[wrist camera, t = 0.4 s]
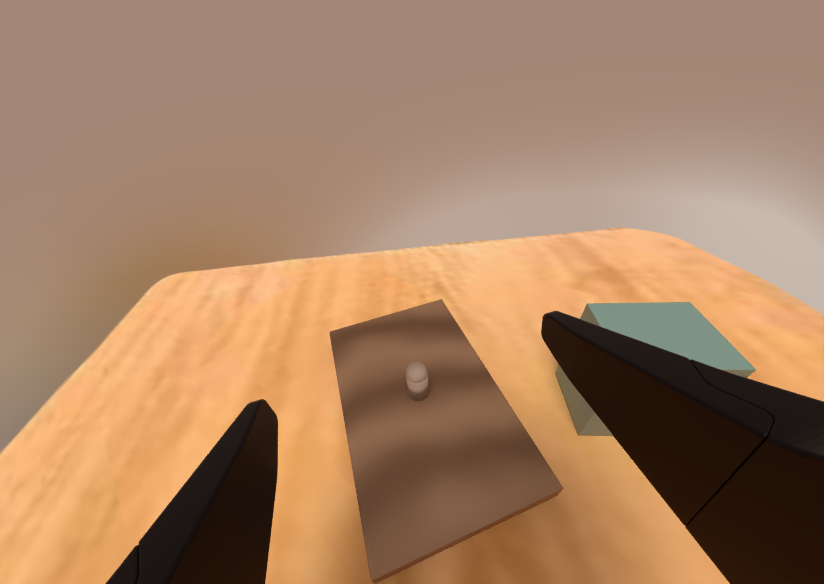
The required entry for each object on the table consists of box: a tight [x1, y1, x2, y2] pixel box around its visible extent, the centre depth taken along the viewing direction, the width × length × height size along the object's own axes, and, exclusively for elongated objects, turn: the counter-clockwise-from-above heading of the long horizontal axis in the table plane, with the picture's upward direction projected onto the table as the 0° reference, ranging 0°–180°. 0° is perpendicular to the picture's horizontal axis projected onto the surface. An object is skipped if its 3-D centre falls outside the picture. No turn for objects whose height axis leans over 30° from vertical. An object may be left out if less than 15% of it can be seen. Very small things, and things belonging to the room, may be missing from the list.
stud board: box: [330, 299, 563, 583], centre depth 24 cm, size 20×13×5 cm, turn 19°
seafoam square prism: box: [555, 302, 756, 436], centre depth 22 cm, size 6×7×9 cm
